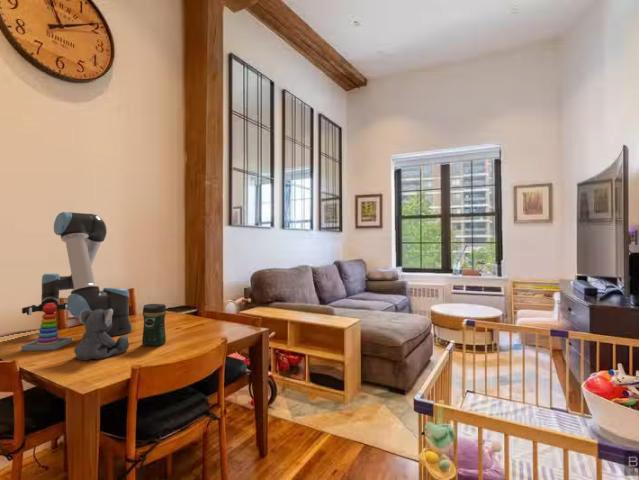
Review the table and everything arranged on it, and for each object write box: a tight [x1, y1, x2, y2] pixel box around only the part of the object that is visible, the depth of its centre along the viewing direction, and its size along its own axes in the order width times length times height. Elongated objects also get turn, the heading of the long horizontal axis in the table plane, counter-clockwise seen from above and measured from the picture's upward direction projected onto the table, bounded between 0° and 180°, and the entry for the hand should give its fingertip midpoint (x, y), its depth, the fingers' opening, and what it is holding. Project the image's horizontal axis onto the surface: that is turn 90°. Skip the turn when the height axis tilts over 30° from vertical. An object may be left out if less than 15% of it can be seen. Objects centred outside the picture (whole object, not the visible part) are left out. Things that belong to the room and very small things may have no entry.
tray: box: [20, 337, 73, 352], centre depth 158 cm, size 13×13×2 cm
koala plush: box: [73, 309, 130, 361], centre depth 147 cm, size 17×18×20 cm
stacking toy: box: [36, 303, 59, 345], centre depth 158 cm, size 8×8×19 cm
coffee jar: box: [141, 303, 167, 347], centre depth 164 cm, size 10×8×19 cm
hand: (48, 310), depth 166 cm, fingers open, 13 cm apart
